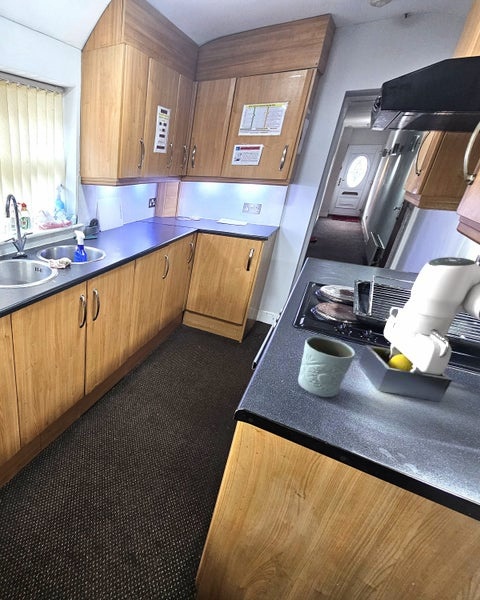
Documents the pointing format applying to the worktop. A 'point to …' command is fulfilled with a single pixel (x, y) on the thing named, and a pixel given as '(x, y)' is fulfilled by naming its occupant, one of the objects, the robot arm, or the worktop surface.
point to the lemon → (400, 363)
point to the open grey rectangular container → (401, 376)
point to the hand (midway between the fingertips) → (401, 369)
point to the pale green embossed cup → (324, 365)
